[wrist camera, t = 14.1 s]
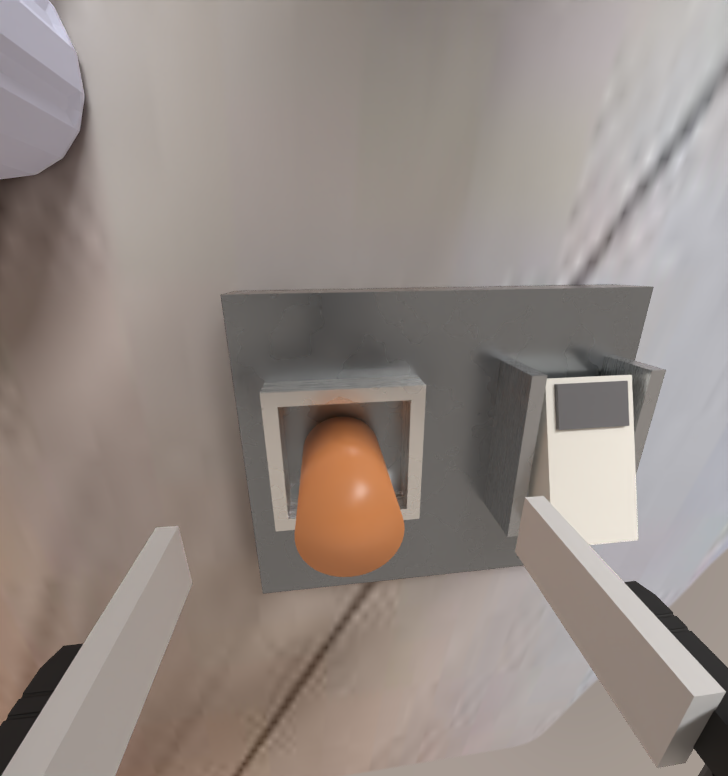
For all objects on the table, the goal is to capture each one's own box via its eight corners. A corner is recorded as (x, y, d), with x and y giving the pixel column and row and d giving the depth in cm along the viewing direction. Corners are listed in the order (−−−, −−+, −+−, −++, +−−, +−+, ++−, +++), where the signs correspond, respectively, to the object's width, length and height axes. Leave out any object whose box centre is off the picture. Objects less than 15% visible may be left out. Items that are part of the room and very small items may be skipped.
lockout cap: (300, 418, 20) (290, 492, 13) (379, 414, 20) (406, 483, 14) (305, 486, 22) (298, 582, 15) (378, 480, 22) (402, 571, 15)
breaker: (523, 379, 20) (548, 378, 18) (602, 375, 21) (636, 374, 18) (530, 533, 20) (555, 551, 18) (608, 525, 21) (642, 542, 19)
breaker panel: (234, 290, 20) (199, 300, 14) (612, 284, 23) (712, 290, 17) (269, 559, 27) (254, 640, 21) (559, 530, 29) (617, 595, 23)
